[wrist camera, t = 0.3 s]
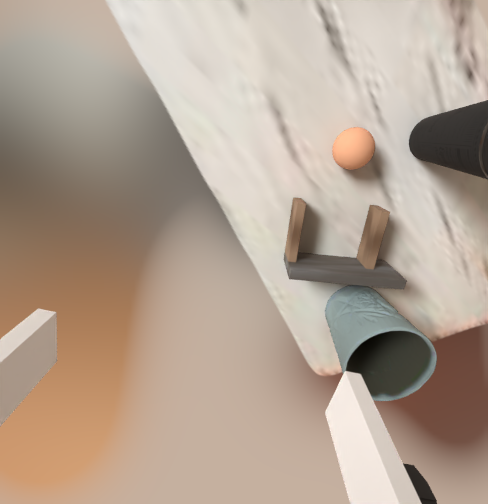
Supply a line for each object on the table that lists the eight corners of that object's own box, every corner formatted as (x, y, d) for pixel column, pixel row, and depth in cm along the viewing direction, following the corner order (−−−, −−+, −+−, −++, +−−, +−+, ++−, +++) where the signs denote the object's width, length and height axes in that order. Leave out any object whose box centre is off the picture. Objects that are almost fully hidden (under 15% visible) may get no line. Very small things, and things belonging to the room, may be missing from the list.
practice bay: (293, 197, 37) (301, 208, 31) (400, 207, 37) (427, 220, 31) (283, 259, 40) (289, 278, 34) (382, 268, 40) (403, 289, 35)
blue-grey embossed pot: (326, 341, 45) (351, 408, 34) (313, 287, 42) (336, 342, 30) (391, 327, 44) (440, 391, 33) (383, 269, 40) (435, 320, 29)
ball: (332, 126, 34) (344, 124, 29) (370, 129, 34) (387, 128, 29) (324, 165, 35) (334, 169, 31) (360, 169, 35) (375, 173, 31)
